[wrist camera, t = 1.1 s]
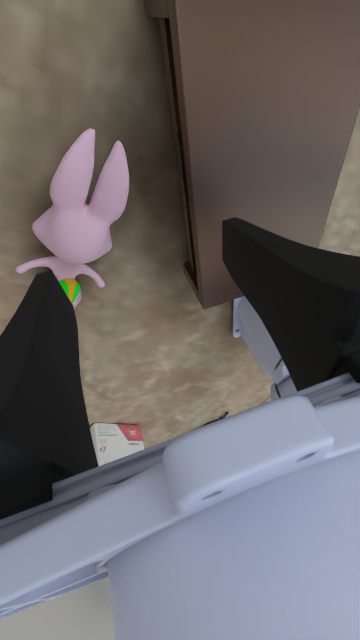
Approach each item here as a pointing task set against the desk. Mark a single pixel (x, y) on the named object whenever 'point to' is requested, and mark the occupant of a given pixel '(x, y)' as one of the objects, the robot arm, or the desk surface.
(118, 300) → the desk surface
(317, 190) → the rack
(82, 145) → the rabbit figure
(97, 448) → the ink cartridge box
